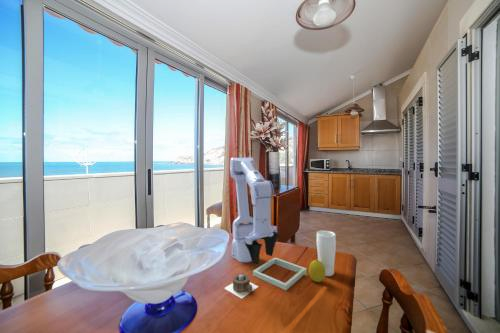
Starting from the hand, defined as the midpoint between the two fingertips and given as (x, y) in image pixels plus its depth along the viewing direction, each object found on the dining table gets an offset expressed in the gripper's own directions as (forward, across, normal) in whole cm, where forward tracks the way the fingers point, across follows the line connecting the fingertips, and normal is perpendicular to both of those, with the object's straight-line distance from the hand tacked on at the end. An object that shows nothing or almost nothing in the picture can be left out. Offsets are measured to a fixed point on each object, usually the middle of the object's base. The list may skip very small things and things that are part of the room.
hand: (262, 259), depth 69 cm
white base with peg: (+10, -5, +5) cm, 12 cm away
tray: (+10, +10, 0) cm, 14 cm away
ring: (+9, -5, +5) cm, 11 cm away
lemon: (+10, +14, -12) cm, 22 cm away
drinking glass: (+10, +22, -13) cm, 28 cm away
